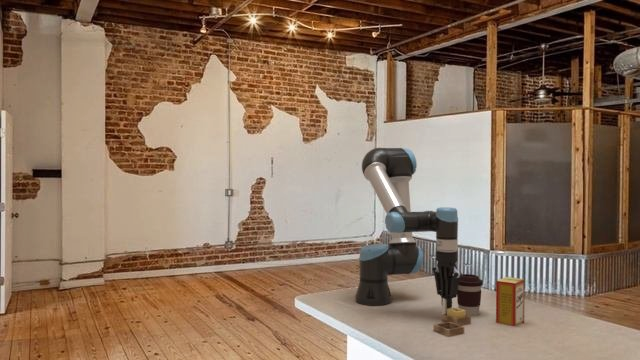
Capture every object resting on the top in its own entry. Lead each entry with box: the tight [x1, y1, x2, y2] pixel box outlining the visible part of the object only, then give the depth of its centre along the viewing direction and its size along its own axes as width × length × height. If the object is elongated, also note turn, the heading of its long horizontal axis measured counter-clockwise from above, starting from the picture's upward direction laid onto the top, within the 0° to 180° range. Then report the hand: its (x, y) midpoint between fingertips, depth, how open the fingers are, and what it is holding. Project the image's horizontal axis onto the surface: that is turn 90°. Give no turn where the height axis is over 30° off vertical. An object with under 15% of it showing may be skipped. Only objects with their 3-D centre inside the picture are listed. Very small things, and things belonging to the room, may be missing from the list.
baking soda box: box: [495, 276, 526, 327], centre depth 185 cm, size 10×6×16 cm
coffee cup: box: [456, 273, 484, 317], centre depth 195 cm, size 10×10×15 cm
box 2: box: [433, 322, 465, 337], centre depth 172 cm, size 7×7×3 cm
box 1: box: [441, 314, 472, 326], centre depth 183 cm, size 7×7×3 cm
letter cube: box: [447, 307, 466, 319], centre depth 183 cm, size 4×4×5 cm
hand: (446, 316), depth 187 cm, fingers closed
